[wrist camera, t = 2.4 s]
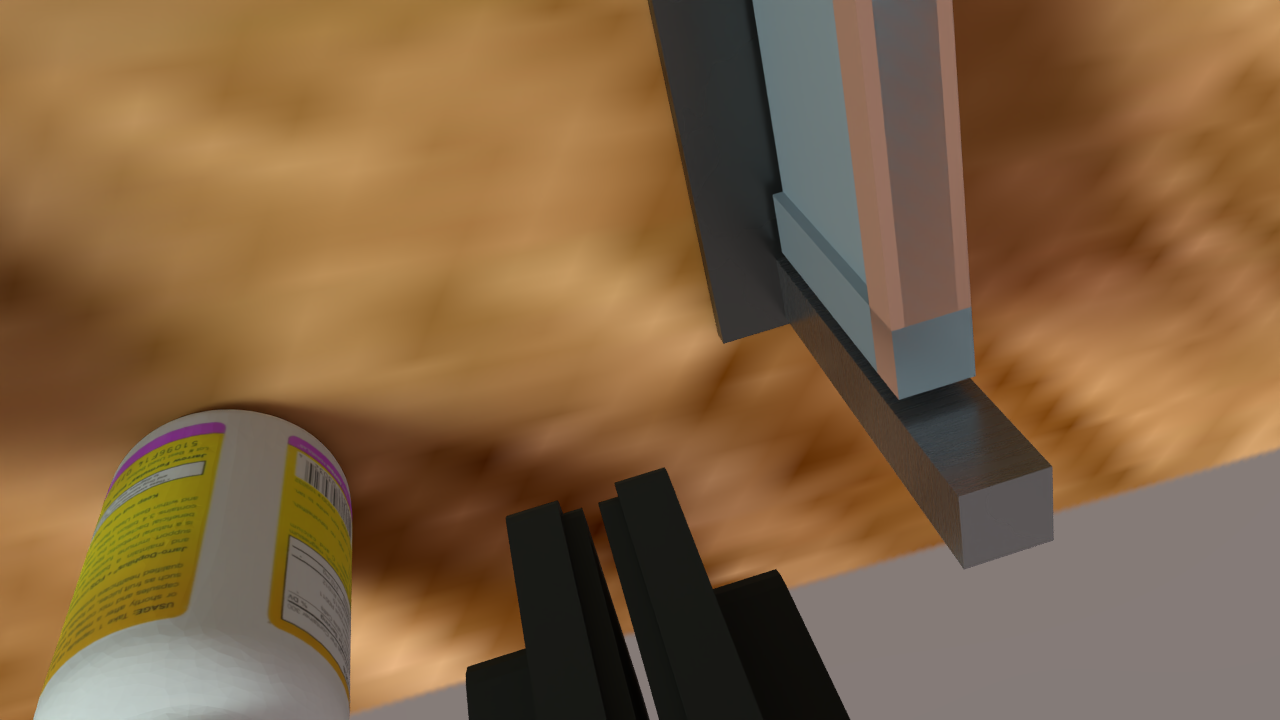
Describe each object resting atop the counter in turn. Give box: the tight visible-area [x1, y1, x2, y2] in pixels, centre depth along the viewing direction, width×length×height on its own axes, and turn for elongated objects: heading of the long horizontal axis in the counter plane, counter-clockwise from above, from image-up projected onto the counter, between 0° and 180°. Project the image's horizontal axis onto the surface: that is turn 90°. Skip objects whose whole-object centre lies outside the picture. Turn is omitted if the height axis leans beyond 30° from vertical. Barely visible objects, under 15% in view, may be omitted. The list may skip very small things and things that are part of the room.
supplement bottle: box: [33, 409, 352, 720], centre depth 26 cm, size 7×7×13 cm
